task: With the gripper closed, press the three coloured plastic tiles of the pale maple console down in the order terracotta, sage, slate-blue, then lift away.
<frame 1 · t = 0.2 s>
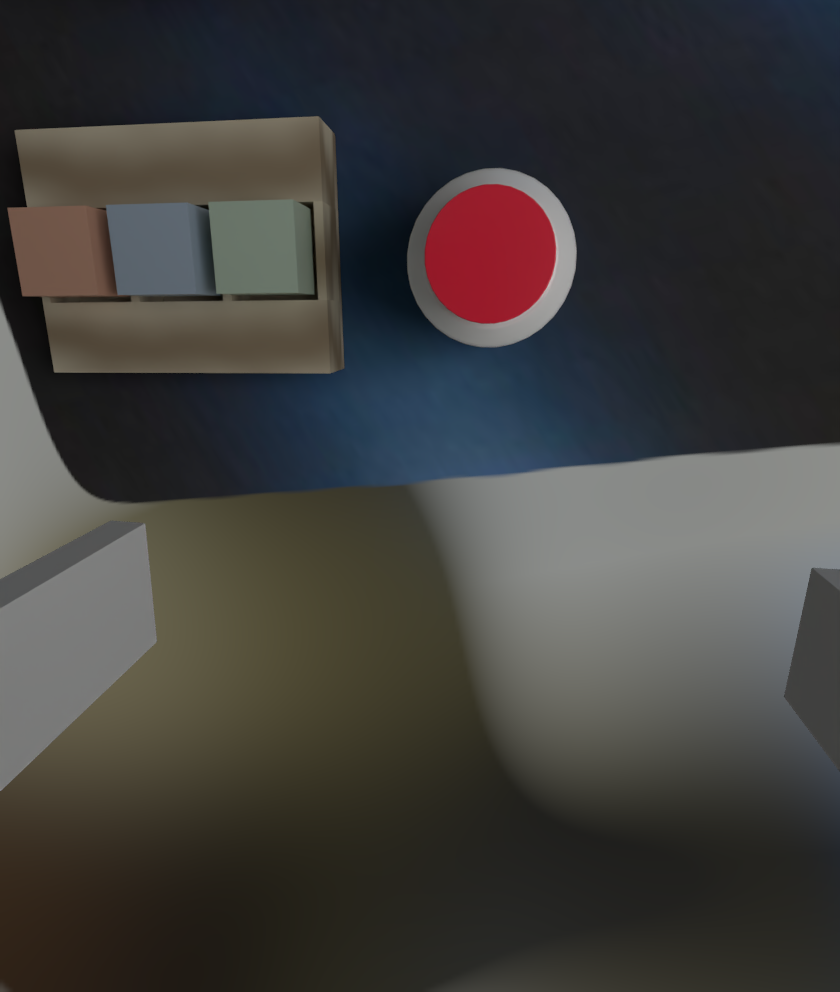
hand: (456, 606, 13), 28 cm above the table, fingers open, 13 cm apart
pill bottle: (492, 272, 37), on the table
tile slate: (166, 252, 34), point 4 cm above the table, slide at 0.0 cm
tile sage: (264, 250, 34), point 5 cm above the table, slide at 0.0 cm
console: (203, 259, 38), on the table
tile terracotta: (71, 254, 35), point 5 cm above the table, slide at 0.0 cm
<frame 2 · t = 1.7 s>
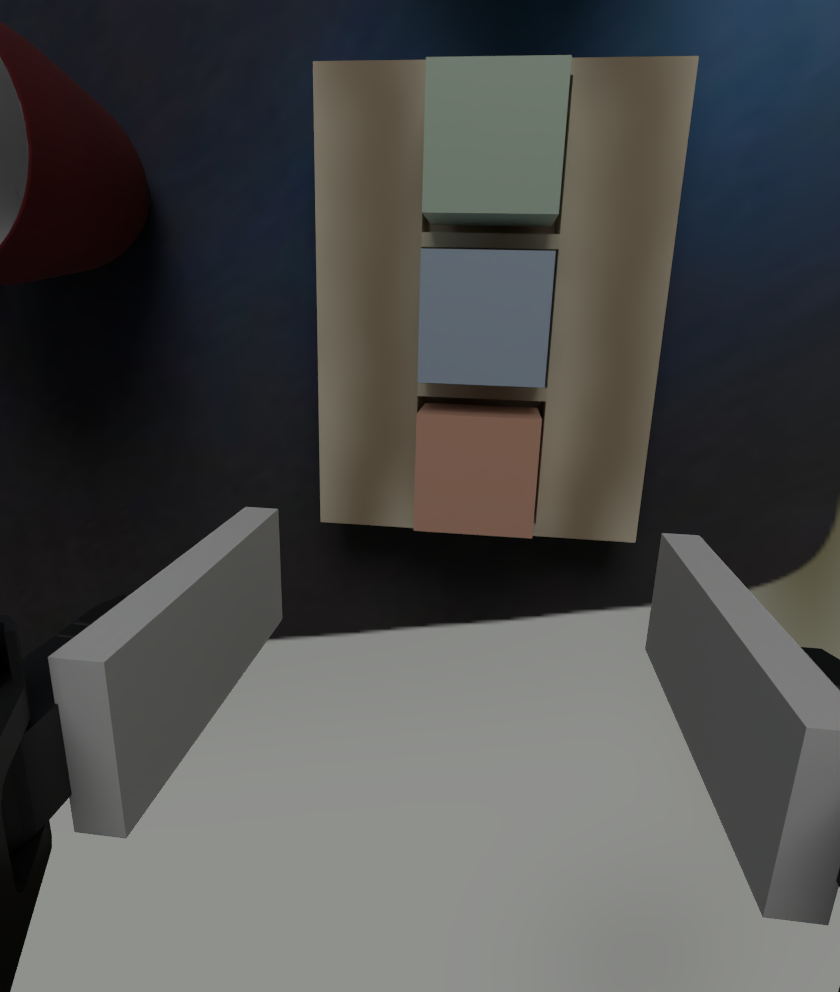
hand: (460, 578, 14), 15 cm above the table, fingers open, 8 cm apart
mug: (83, 200, 28), on the table
tile slate: (484, 319, 23), point 5 cm above the table, slide at 0.0 cm
tile sage: (494, 149, 21), point 5 cm above the table, slide at 0.0 cm
console: (487, 318, 27), on the table
tile terracotta: (476, 467, 24), point 4 cm above the table, slide at 0.0 cm
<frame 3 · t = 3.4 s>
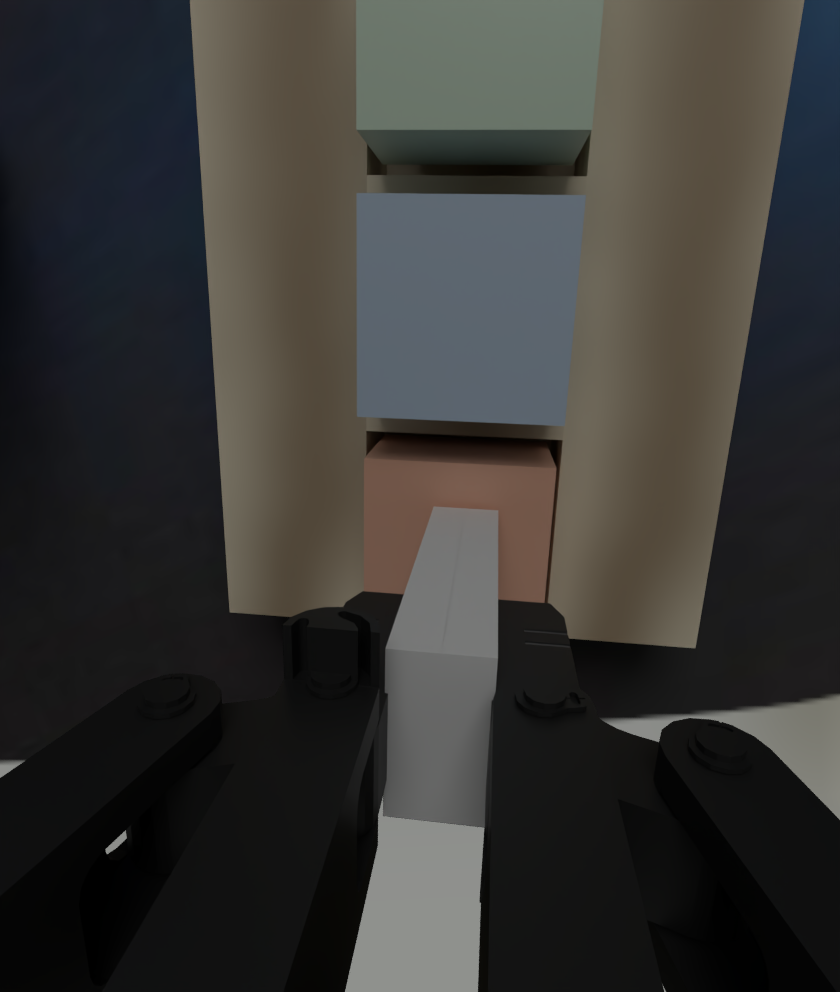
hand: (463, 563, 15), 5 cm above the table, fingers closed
tile slate: (466, 312, 14), point 4 cm above the table, slide at 0.0 cm
tile sage: (479, 26, 13), point 5 cm above the table, slide at 0.0 cm
console: (473, 312, 18), on the table
tile terracotta: (458, 532, 17), point 4 cm above the table, slide at 0.8 cm, touching gripper
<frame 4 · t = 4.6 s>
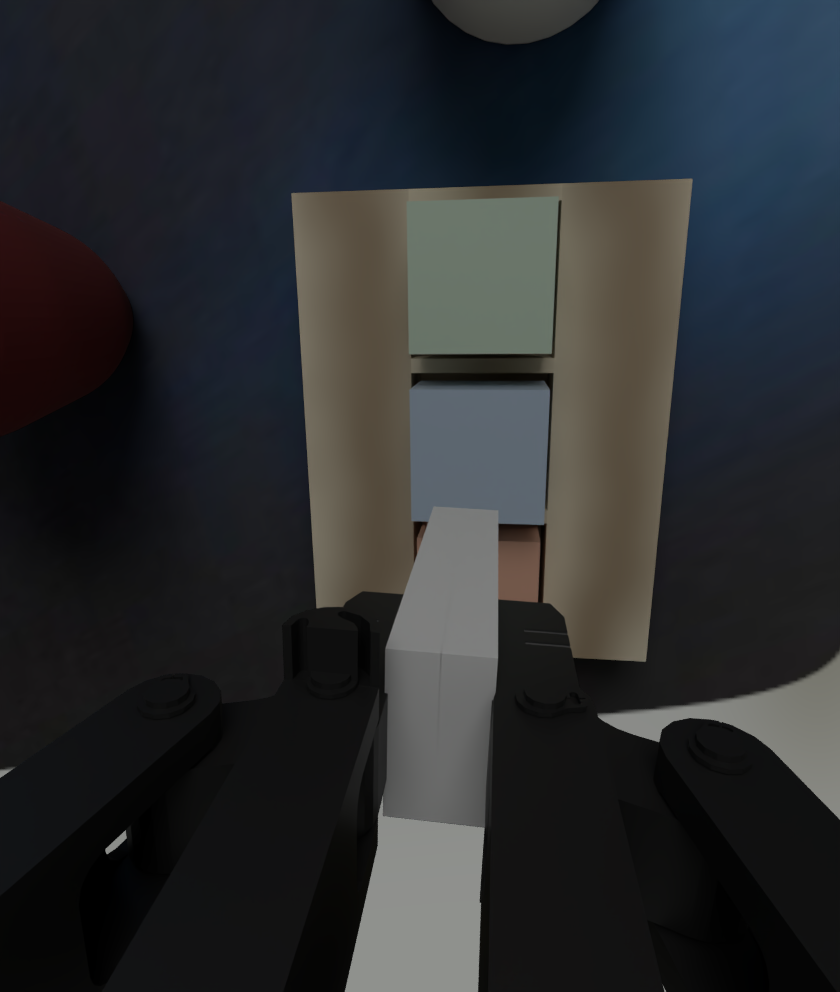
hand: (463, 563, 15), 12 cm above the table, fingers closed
mug: (66, 319, 27), on the table
tile slate: (479, 449, 22), point 4 cm above the table, slide at 0.0 cm
tile sage: (481, 281, 20), point 5 cm above the table, slide at 0.0 cm
console: (483, 427, 26), on the table
tile terracotta: (478, 580, 25), point 3 cm above the table, slide at 1.3 cm
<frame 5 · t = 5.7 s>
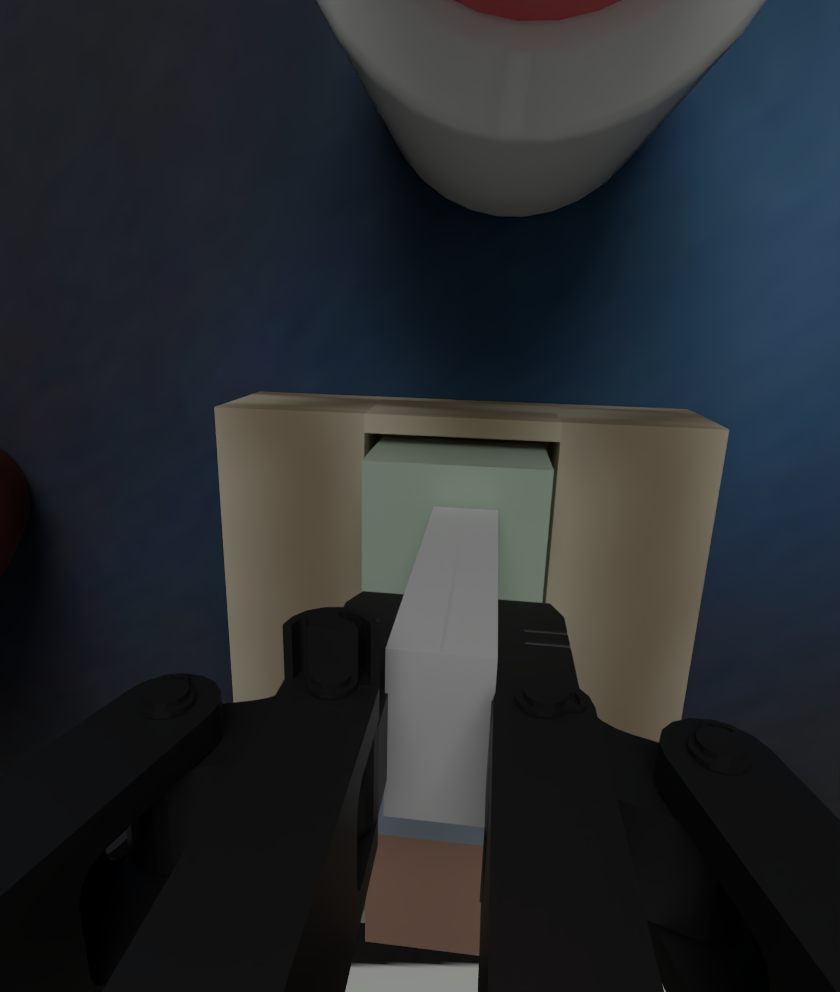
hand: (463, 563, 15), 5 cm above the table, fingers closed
pill bottle: (520, 61, 17), on the table
tile slate: (445, 732, 17), point 4 cm above the table, slide at 0.0 cm
tile sage: (455, 534, 17), point 4 cm above the table, slide at 0.8 cm, touching gripper
console: (455, 649, 22), on the table
tile terracotta: (442, 852, 20), point 3 cm above the table, slide at 1.3 cm
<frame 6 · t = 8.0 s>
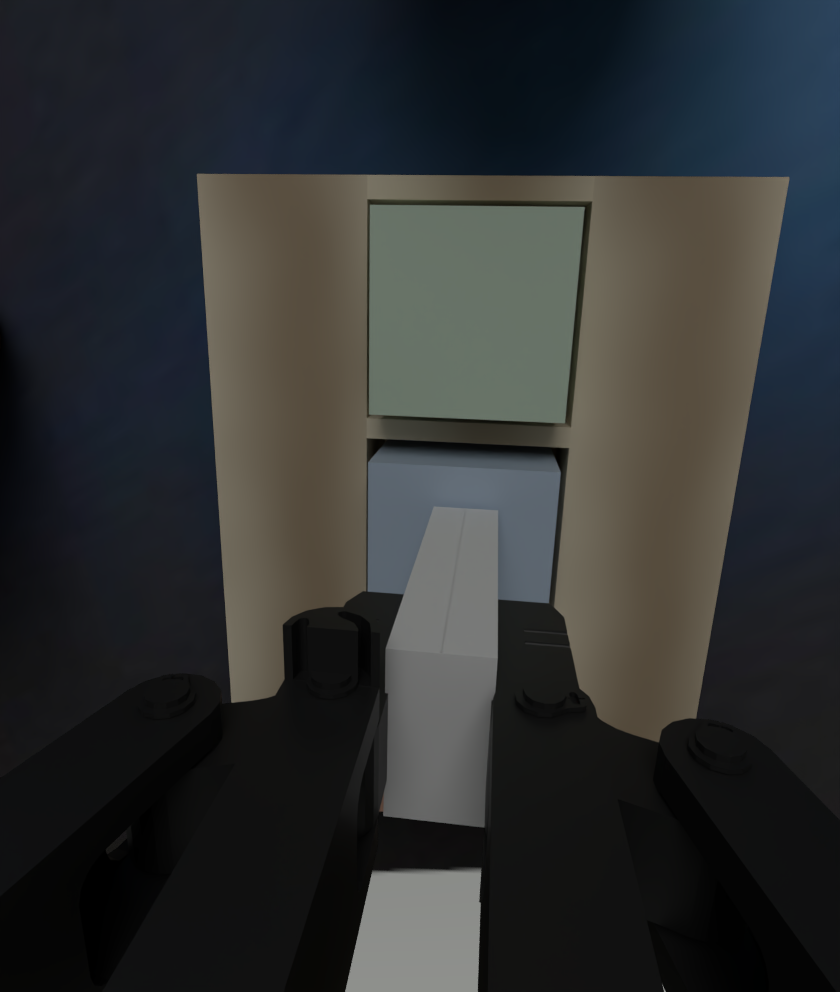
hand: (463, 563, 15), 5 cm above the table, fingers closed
tile slate: (462, 535, 17), point 3 cm above the table, slide at 1.3 cm, touching gripper
tile sage: (472, 316, 15), point 3 cm above the table, slide at 1.4 cm
console: (467, 500, 20), on the table
tile terracotta: (453, 715, 18), point 3 cm above the table, slide at 1.3 cm
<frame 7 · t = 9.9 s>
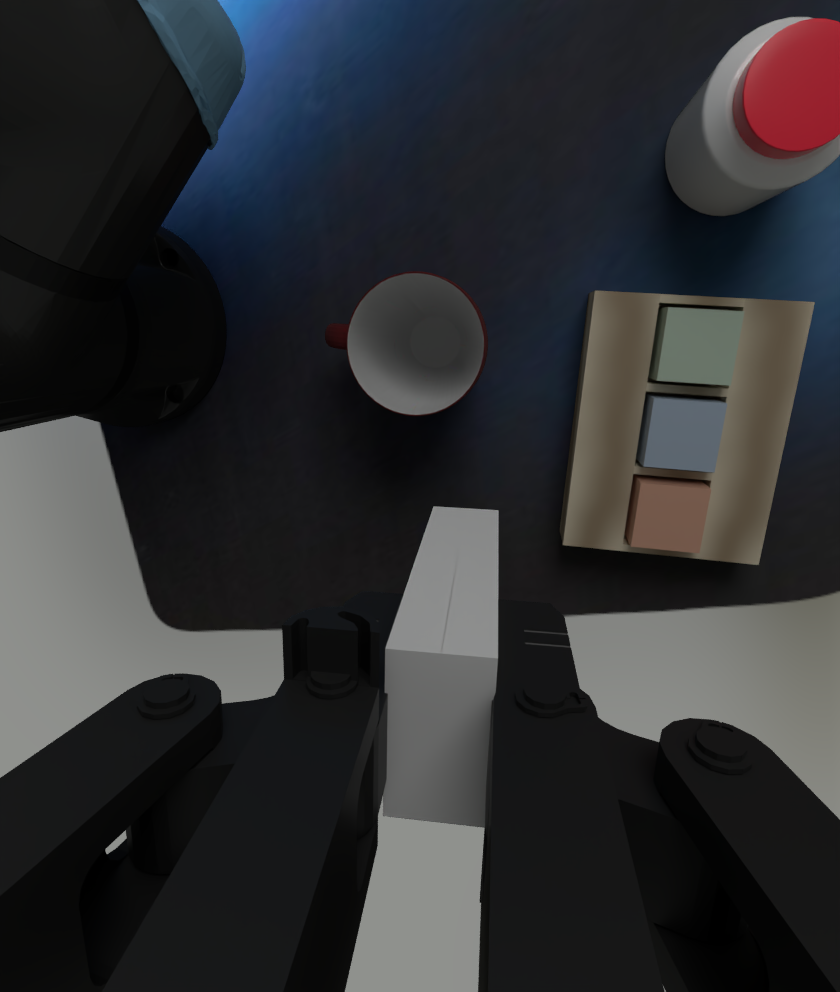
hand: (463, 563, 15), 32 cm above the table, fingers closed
mug: (418, 342, 46), on the table
pill bottle: (727, 150, 40), on the table
tile slate: (678, 431, 42), point 3 cm above the table, slide at 1.4 cm
tile sage: (693, 346, 40), point 3 cm above the table, slide at 1.4 cm
console: (667, 424, 45), on the table
tile terracotta: (665, 512, 43), point 3 cm above the table, slide at 1.3 cm
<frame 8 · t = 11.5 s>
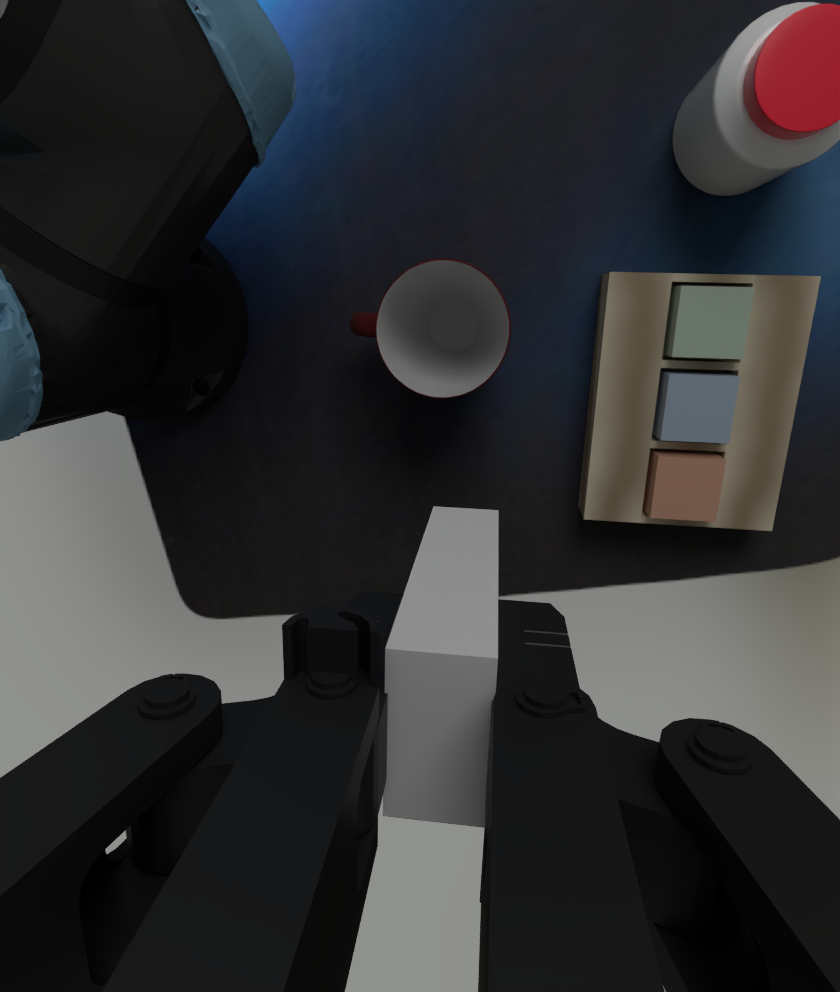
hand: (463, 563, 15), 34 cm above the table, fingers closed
mug: (437, 328, 47), on the table
pill bottle: (732, 132, 41), on the table
tile slate: (692, 406, 43), point 3 cm above the table, slide at 1.4 cm
tile sage: (705, 322, 42), point 3 cm above the table, slide at 1.4 cm
console: (680, 400, 46), on the table
tile terracotta: (681, 483, 45), point 3 cm above the table, slide at 1.3 cm
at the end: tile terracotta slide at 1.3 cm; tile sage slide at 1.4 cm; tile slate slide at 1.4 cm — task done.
